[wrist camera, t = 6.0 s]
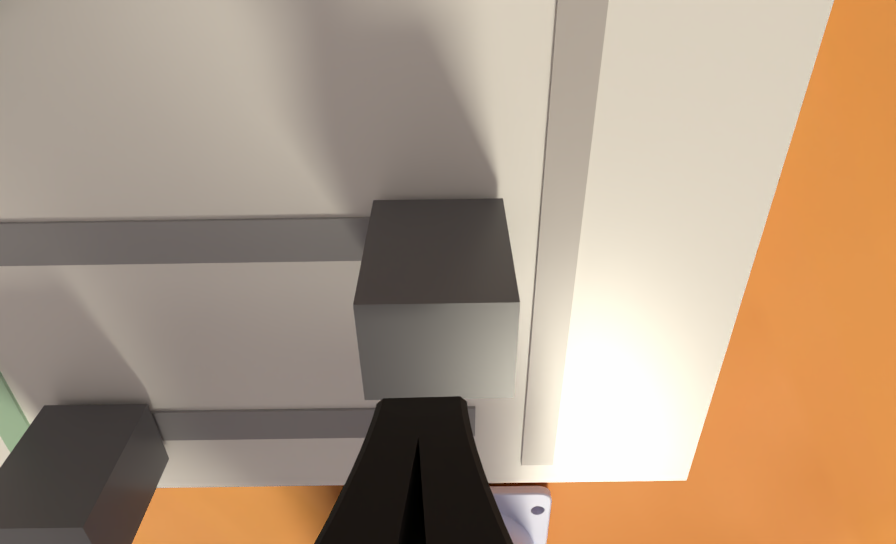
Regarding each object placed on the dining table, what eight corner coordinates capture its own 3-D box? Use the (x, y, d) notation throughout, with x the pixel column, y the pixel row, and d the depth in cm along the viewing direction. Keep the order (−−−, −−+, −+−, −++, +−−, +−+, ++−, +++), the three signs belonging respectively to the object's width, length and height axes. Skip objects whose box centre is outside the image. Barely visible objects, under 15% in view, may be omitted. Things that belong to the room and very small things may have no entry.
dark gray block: (499, 283, 16) (514, 398, 13) (380, 284, 16) (364, 400, 13) (502, 198, 15) (520, 302, 11) (373, 200, 15) (353, 304, 11)
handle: (169, 458, 20) (113, 583, 16) (72, 459, 20) (-2, 584, 16) (147, 404, 18) (82, 527, 15) (44, 405, 18) (-44, 529, 15)
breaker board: (668, 433, 23) (687, 482, 21) (-117, 444, 23) (-163, 494, 21) (852, -259, 12) (923, -276, 10) (-634, -234, 12) (-818, -247, 10)
